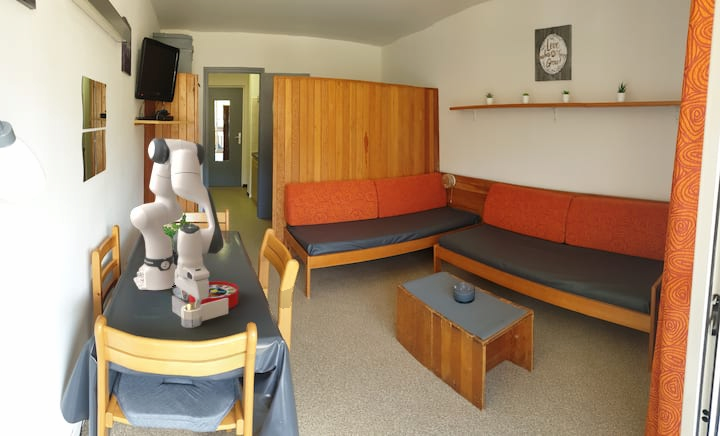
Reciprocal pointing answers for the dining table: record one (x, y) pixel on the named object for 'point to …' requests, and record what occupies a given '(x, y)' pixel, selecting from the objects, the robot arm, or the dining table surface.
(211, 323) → the dining table surface
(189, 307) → the hinge pin
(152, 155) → the robot arm
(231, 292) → the toy clock
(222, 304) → the hinge leaf
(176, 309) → the hinge leaf
